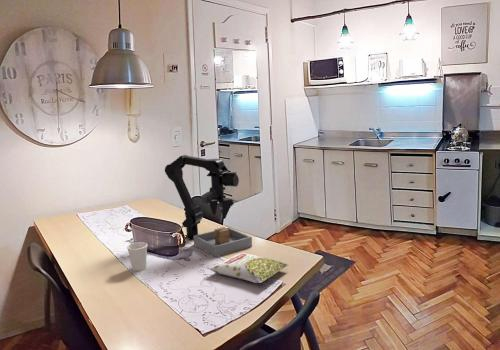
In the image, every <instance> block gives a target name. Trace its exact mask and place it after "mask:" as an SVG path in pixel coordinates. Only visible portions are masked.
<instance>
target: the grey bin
mask: <svg viewBox="0 0 500 350" xmlns="http://www.w3.org/2000/svg"><path fill="white" fill-rule="evenodd" d="M226 228H227V229H229V238H230V242H228V243H224V244H221V245H218V244H216V243H215V230H212V231H207V232H203V233H198V235H195V236H193V238H194V239H193V245H194V246H195V245H196V247H197V248H199V249H201V250H202V249H203V250H202V251H204V252H206V253H208V254H209V253H210V254H209V255H211V254H212V256H213V257H220V256H222V255H226V254H230V253H233V252H237V251H241V250H244V249H248V248H250V247H251V248H252V247H253V239H252V236H250V235H248V234H246V233H243V232H242V231H239V230H236V229H234V228H232V227H229V226H228V227H226Z"/></svg>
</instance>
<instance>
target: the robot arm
mask: <svg viewBox="0 0 500 350" xmlns="http://www.w3.org/2000/svg"><path fill="white" fill-rule="evenodd" d="M186 165H188V166H192V167H193V166H194V167H198V168H203V169H205V170H206V171H209V172H208V174H207V175H206V177H210V183H211V187H209V191H206V192H205V193H203V194H202V195H200V198H201V201H202V203H204V204H206V205H207V204H208V205H209V207H210V210H211V213H212V215H213V216H215V215H216V214H217V209H218V207H219V209H220V210H221V215H222V219H223V220H226V217H227V215H228V213H229V211H230V209H231V207H232V206H234V200H233V199H232V198H229V197H226V195H225V190H226V187H238V185H239V182H240V179H239V176H238V174H237V172H236V171H231V172H230V170H229V169H228V167H227V166H226V165H225V163H224V161H223V159H221V158H207V159H206V158H203V157H202V158H201V157H197V156H192V155H191V156H190V155H187V154H183V155H179V157H178V158H176V159H175V160H173V161H172V162H171V163H170V164H167V165H165V167H164V172H165V175H166V176H167V177H168V179H169V180H170V181H171V182H173V184H174V187H175V188H176V191H177V193H178V195H179V198H180V201H181V202H182V204H183V206H184V216H185V220H184V221H182V223H181V224H182V228H185V229H186V231H185V232H186V234H185V236H186V237H185V238H186V239H188V240H194V238H193V236H195V235H199V229H198V225H199V224H201V221H202V220H203V217H204V215H203V213H204V212H203V211H202V209H201V208H202V207H201V206H200V205H196V204H195V203H194V200H193V198H192V196H191V194H190V192H189V190H188V187H187V185H186V183H185V181H184V176H183V175H184V173H183V172H184V171H183V168H184V167H185V166H186Z"/></svg>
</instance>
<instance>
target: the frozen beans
mask: <svg viewBox="0 0 500 350" xmlns="http://www.w3.org/2000/svg"><path fill="white" fill-rule="evenodd" d="M288 266H289V264H287V263H284V262H281V261H279V260H275V259H273V258H269V257H268V258H267V257H264V256H259V255H255V254H250V253H241V252H240V253H237V254H234V255H233V256H231V257H229V258H228V259H226V260H223V261H221V262H220V263H217V264H216V265H213V266H211V267H208V269H209V271H212V272H214V273H216V274H220V275H224V276H228V277H231V278H235V279H236V278H237V279H239V280H243V281H247V282H250V283H254V284H261V283H263V282H265V281H266V280H268V279H270V278H271V277H273V276H274V275H275V274H277V273H278V272H280V271H282V270H283V269H284V268H286V267H288Z"/></svg>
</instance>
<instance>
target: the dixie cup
mask: <svg viewBox="0 0 500 350" xmlns="http://www.w3.org/2000/svg"><path fill="white" fill-rule="evenodd" d="M126 249H127V252H128V257H129V261H130V264H131V270H132V271H134V272H140V271H144V270H146V269H147V255H148V253H147V251H148V243H147V242H143V241H138V242H132V243H130V244H128V245H127V246H126Z"/></svg>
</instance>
